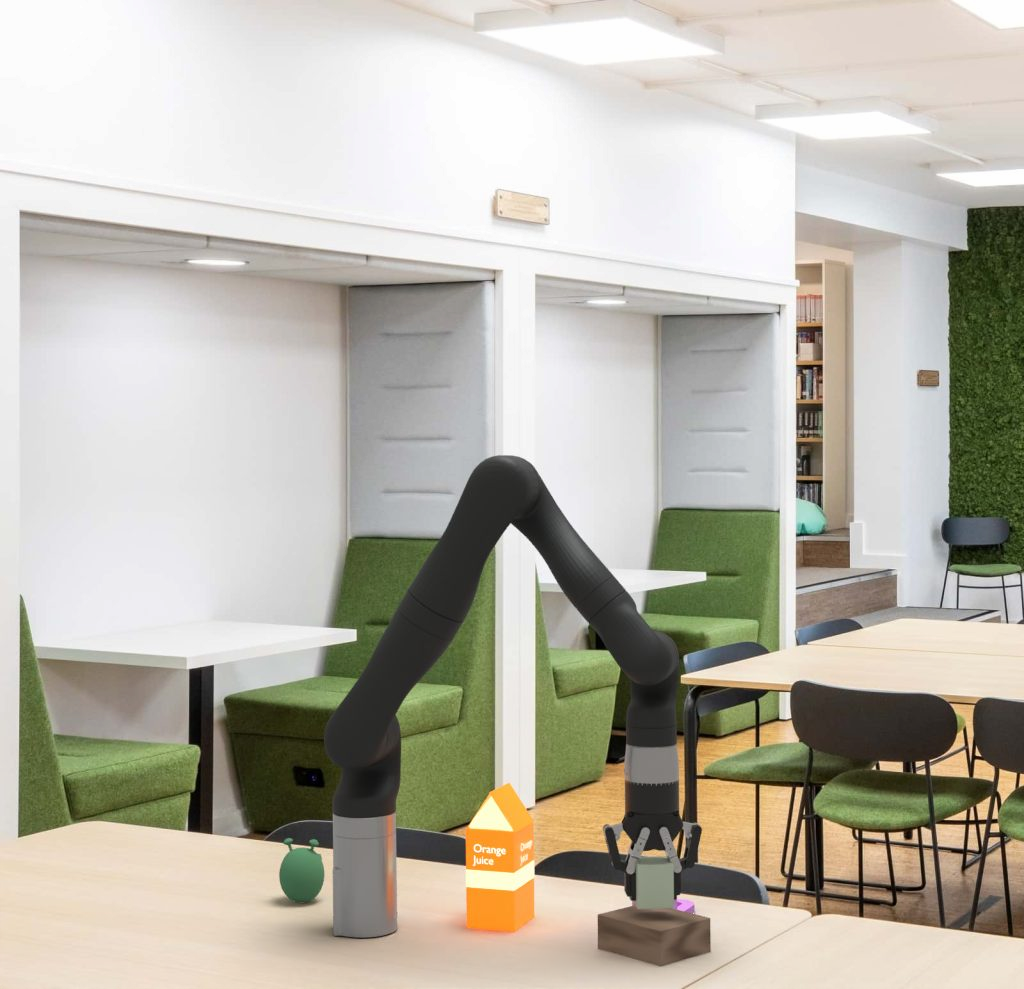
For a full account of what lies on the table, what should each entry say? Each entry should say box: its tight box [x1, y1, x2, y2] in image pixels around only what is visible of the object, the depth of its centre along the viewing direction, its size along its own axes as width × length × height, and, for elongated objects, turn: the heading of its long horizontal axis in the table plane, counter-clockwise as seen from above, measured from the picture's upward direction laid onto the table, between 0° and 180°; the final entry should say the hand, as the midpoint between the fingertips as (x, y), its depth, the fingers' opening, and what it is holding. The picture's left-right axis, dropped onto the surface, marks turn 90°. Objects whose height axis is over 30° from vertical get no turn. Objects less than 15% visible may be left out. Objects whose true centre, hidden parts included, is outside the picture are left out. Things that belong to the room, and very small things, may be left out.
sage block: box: [633, 855, 674, 909], centre depth 225 cm, size 5×5×6 cm
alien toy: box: [278, 837, 325, 903], centre depth 254 cm, size 7×8×10 cm
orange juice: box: [465, 782, 535, 933], centre depth 240 cm, size 8×9×20 cm
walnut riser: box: [597, 905, 712, 967], centre depth 225 cm, size 10×12×5 cm
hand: (652, 898), depth 225 cm, fingers closed on sage block, 5 cm apart
